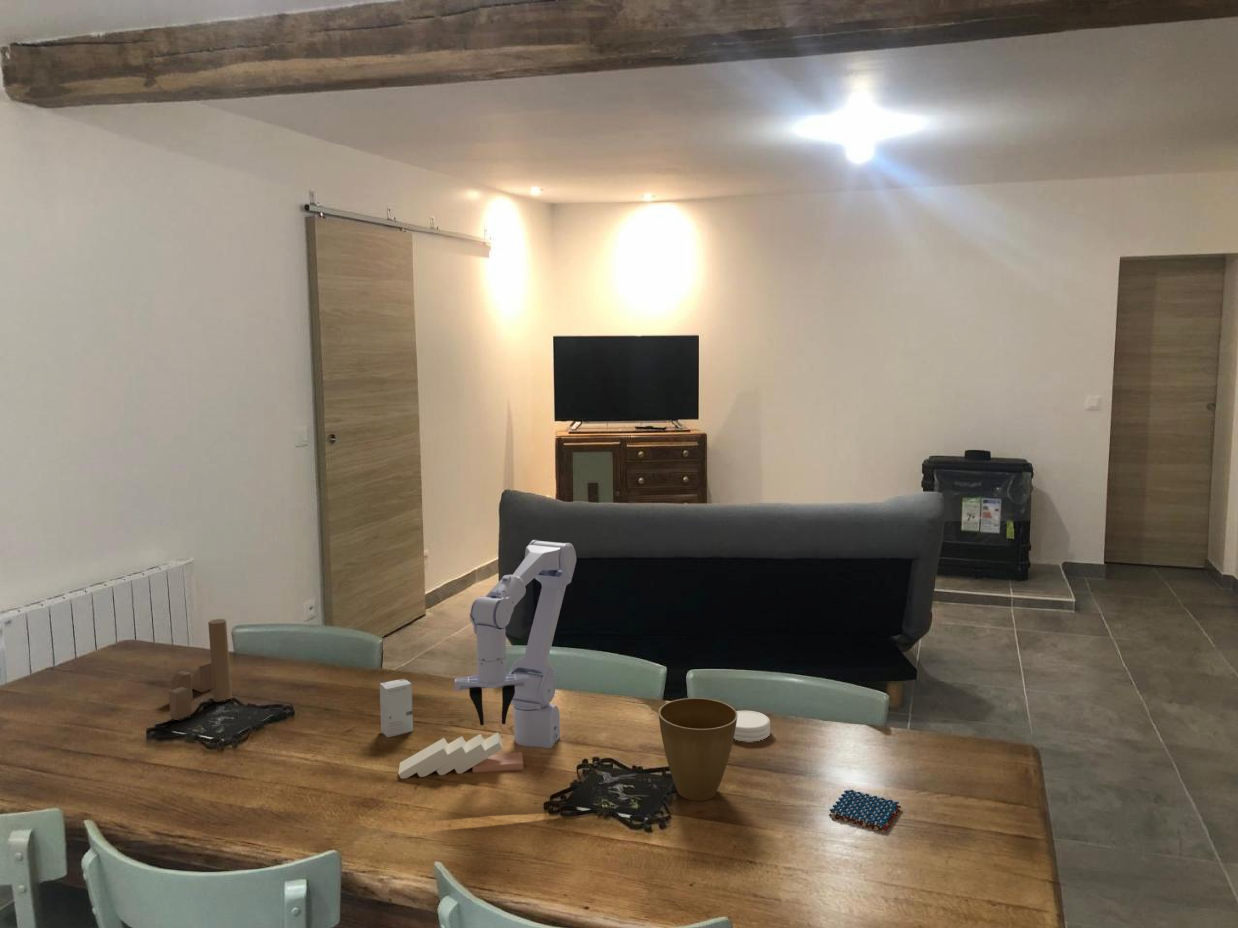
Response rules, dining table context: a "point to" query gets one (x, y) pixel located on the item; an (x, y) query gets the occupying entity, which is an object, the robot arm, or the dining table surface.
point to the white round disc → (751, 726)
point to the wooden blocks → (204, 674)
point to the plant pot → (697, 744)
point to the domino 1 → (423, 758)
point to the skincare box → (396, 707)
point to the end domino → (500, 762)
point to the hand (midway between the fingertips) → (492, 722)
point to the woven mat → (865, 810)
